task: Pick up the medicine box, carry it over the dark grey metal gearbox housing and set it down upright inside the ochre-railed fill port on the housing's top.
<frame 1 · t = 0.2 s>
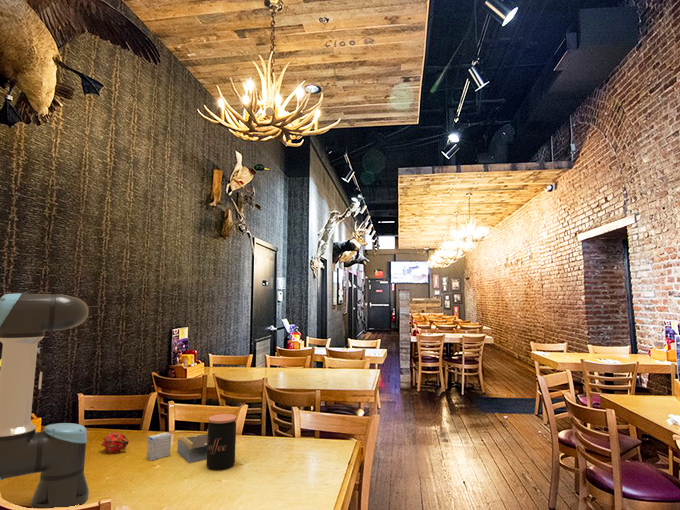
hand: (18, 390, 166), 28 cm above the table, fingers open, 13 cm apart
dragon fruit: (115, 452, 179), on the table
medicine box: (158, 457, 172), on the table
coffee jar: (220, 466, 163), on the table
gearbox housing: (200, 453, 176), on the table
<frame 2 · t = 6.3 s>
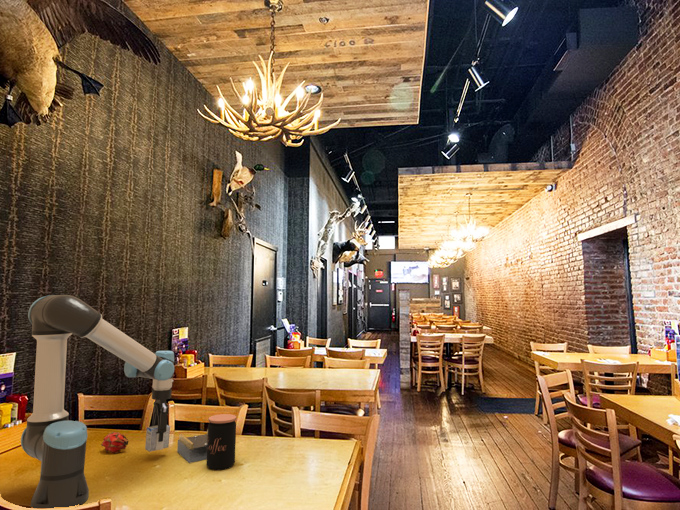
hand: (157, 447, 172), 4 cm above the table, fingers closed on medicine box, 5 cm apart
medicine box: (156, 449, 172), point 3 cm above the table, touching gripper
everything else where it was.
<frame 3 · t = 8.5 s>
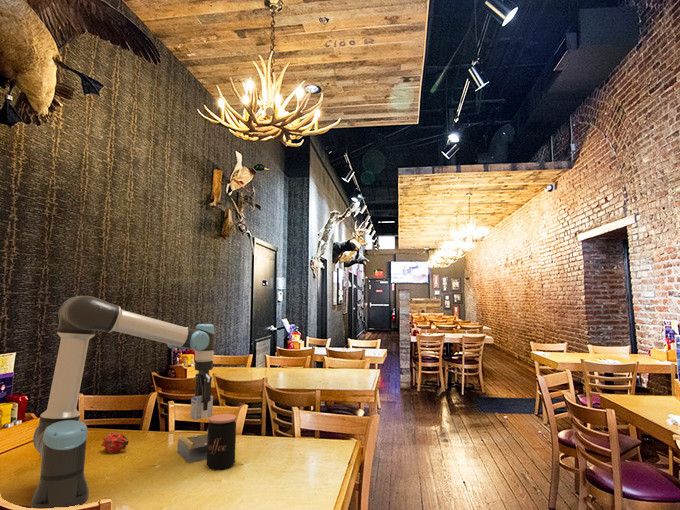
hand: (201, 416, 178), 15 cm above the table, fingers closed on medicine box, 5 cm apart
medicine box: (201, 418, 178), point 14 cm above the table, touching gripper
everything else where it was.
when the fingers open (6 cm above the table, at t = 10.6 s): medicine box stays where it is, resting on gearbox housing.
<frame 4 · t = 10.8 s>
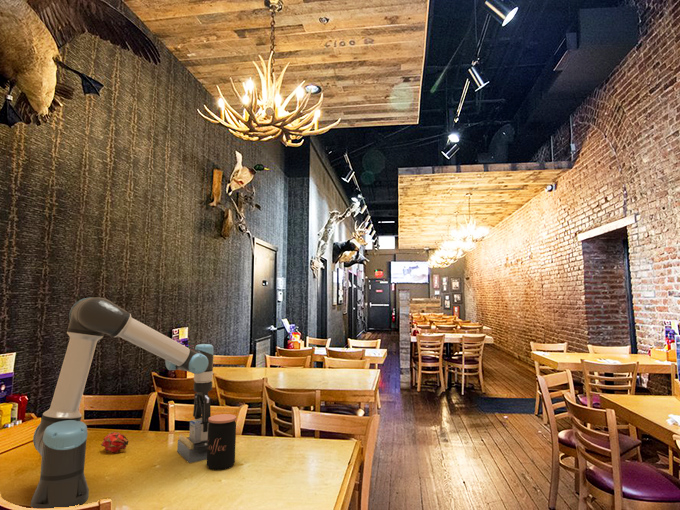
hand: (200, 437, 177), 7 cm above the table, fingers open, 7 cm apart
medicine box: (200, 441, 177), point 5 cm above the table, touching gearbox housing
everything else where it was.
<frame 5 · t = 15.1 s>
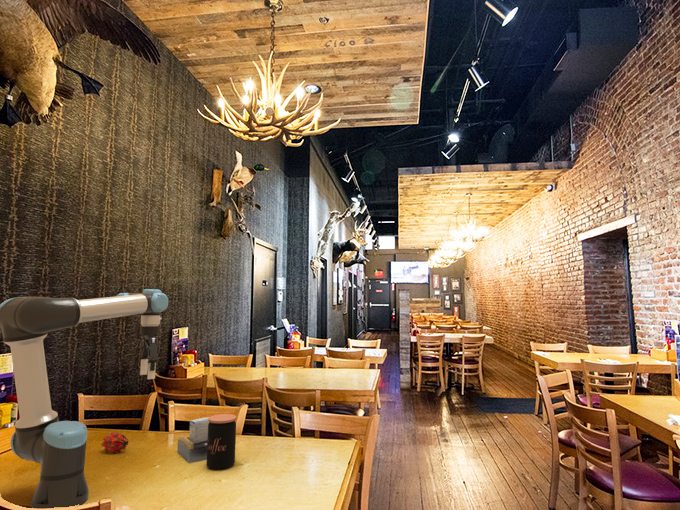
hand: (147, 376, 177), 32 cm above the table, fingers open, 13 cm apart
nothing on the table moved.
at the end: medicine box inside the target area on the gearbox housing (0.3 cm from its centre), point 5.0 cm above the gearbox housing's base; medicine box tilted 0°; the gripper is holding nothing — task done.
